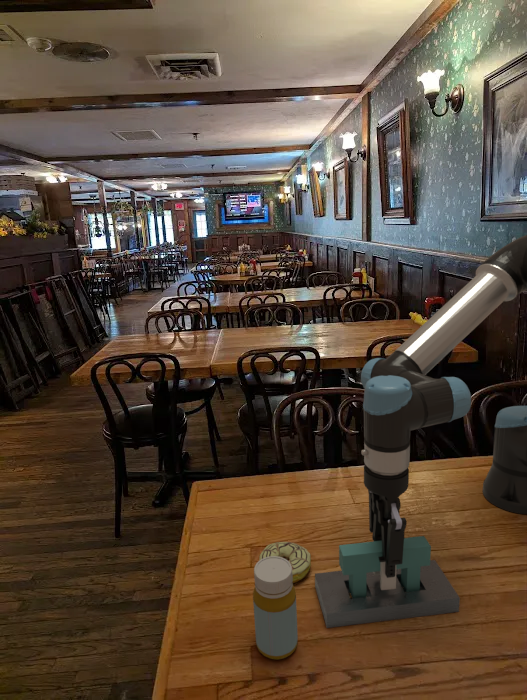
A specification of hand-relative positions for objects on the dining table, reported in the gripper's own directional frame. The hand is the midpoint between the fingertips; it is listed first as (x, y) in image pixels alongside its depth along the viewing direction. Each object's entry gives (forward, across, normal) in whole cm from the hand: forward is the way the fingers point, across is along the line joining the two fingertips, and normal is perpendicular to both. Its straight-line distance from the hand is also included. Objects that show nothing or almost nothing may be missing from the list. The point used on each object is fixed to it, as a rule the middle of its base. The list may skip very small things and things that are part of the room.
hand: (384, 580), depth 89 cm
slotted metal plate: (+4, 0, 0) cm, 4 cm away
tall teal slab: (+3, 0, 0) cm, 3 cm away
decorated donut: (+4, -11, -17) cm, 21 cm away
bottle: (+4, +7, -21) cm, 23 cm away
